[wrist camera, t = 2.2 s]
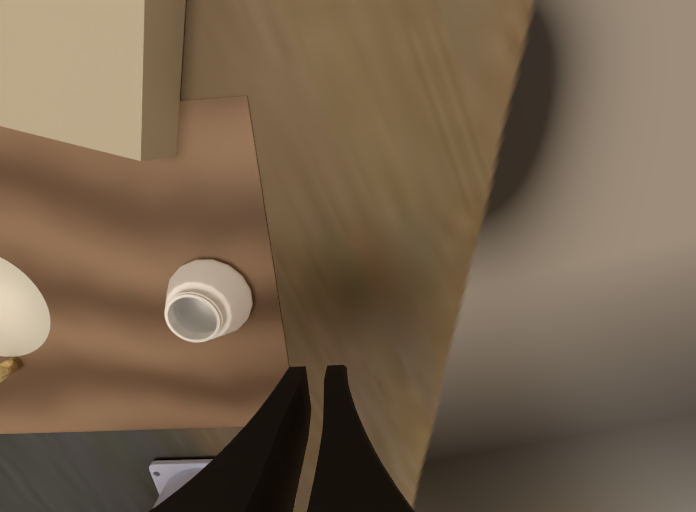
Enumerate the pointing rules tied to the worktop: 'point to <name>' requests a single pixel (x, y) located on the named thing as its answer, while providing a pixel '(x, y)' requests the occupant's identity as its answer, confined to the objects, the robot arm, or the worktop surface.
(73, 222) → the wooden board
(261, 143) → the worktop surface
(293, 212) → the worktop surface
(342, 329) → the worktop surface
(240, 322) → the lidless jar
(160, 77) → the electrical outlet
